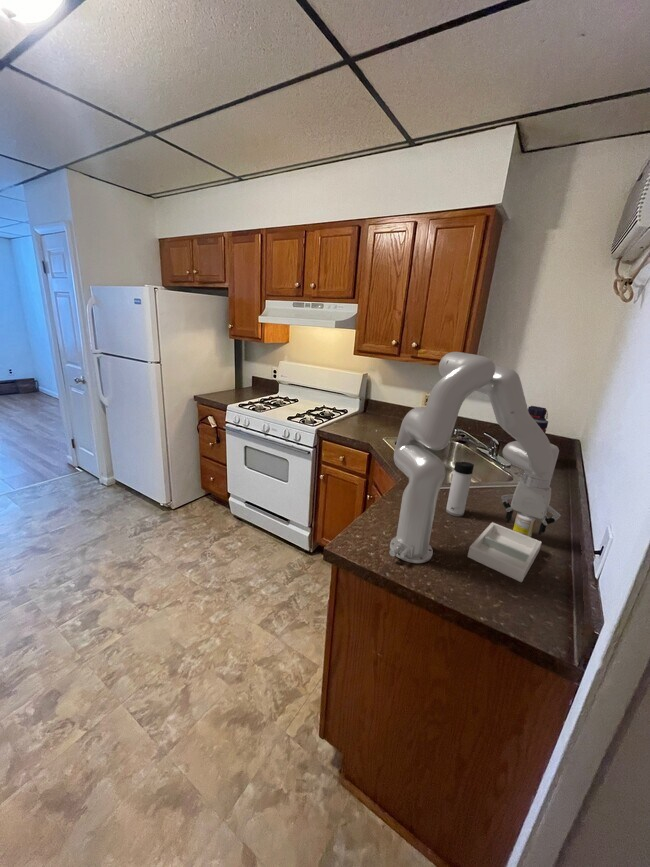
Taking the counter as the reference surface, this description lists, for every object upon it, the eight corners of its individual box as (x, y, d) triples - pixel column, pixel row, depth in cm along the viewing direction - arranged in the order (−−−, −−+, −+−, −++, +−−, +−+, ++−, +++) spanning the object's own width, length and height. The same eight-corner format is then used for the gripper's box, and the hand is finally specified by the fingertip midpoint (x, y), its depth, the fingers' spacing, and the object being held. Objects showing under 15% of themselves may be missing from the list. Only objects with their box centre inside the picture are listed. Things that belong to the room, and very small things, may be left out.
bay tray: (521, 582, 98) (524, 571, 97) (467, 556, 107) (469, 546, 106) (539, 551, 112) (541, 541, 111) (489, 531, 122) (492, 522, 120)
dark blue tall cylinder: (534, 470, 177) (550, 412, 168) (508, 463, 184) (522, 407, 175) (538, 463, 188) (553, 407, 179) (513, 456, 194) (526, 402, 185)
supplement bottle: (523, 531, 123) (530, 505, 120) (534, 541, 118) (541, 513, 114) (508, 531, 122) (515, 504, 119) (518, 541, 117) (525, 513, 114)
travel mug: (453, 518, 128) (463, 466, 122) (442, 508, 134) (452, 459, 128) (467, 516, 130) (478, 465, 124) (456, 507, 136) (466, 458, 130)
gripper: (504, 475, 116) (493, 521, 122) (565, 494, 106) (551, 543, 111) (510, 468, 122) (500, 513, 127) (570, 486, 111) (556, 533, 116)
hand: (523, 527), depth 119 cm, fingers open, 9 cm apart
